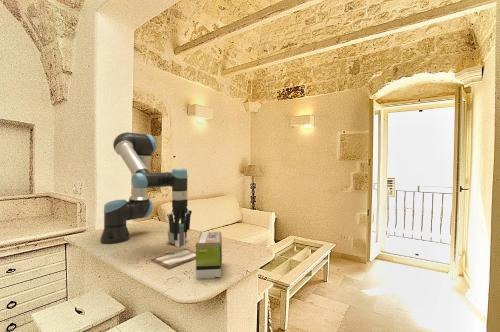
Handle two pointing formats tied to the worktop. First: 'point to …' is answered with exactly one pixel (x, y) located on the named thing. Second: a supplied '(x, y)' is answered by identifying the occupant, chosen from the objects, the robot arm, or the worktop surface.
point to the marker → (181, 234)
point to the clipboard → (175, 258)
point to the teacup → (172, 237)
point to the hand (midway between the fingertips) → (180, 245)
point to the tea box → (209, 255)
